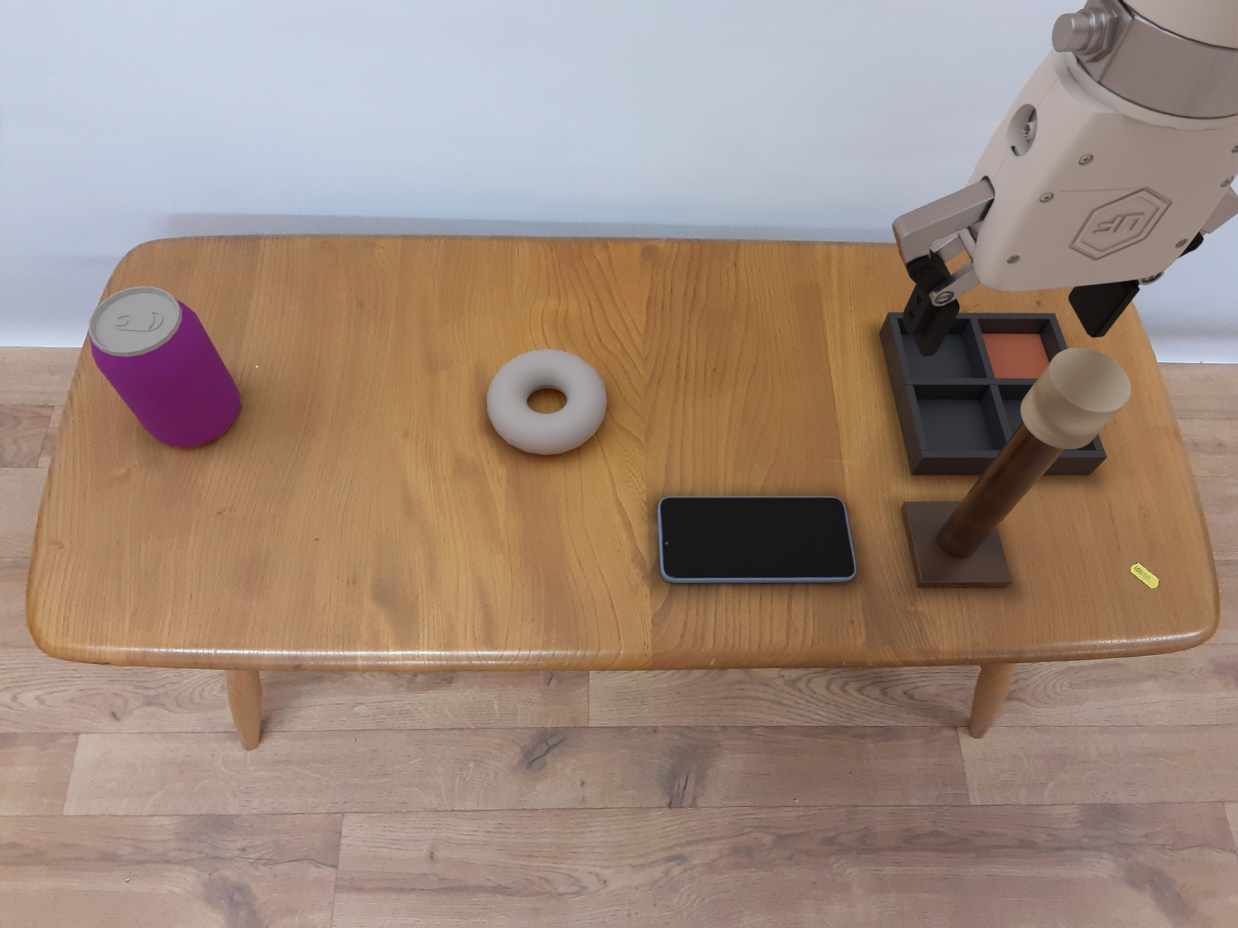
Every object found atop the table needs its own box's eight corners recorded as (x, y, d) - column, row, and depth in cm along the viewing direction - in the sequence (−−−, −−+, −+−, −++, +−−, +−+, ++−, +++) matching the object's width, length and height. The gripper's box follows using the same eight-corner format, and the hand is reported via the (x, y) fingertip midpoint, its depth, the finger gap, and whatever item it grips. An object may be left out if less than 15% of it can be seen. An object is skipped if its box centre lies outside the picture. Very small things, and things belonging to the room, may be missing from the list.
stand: (1007, 587, 68) (1132, 466, 52) (917, 587, 68) (1016, 467, 52) (985, 506, 71) (1096, 372, 56) (900, 507, 71) (988, 371, 56)
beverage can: (139, 456, 71) (65, 364, 61) (156, 378, 75) (89, 280, 65) (238, 450, 72) (181, 358, 61) (249, 374, 76) (197, 276, 65)
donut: (483, 462, 72) (606, 464, 72) (478, 439, 69) (606, 441, 69) (493, 364, 77) (608, 366, 77) (489, 338, 74) (608, 341, 74)
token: (1110, 418, 54) (1146, 379, 51) (1072, 463, 52) (1107, 426, 49) (1044, 375, 56) (1074, 334, 52) (1005, 417, 54) (1034, 377, 51)
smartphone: (859, 578, 67) (661, 580, 66) (856, 583, 67) (660, 585, 67) (844, 493, 70) (657, 493, 70) (841, 498, 71) (656, 498, 70)
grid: (1090, 475, 73) (1107, 457, 71) (911, 475, 73) (922, 457, 70) (1041, 333, 81) (1055, 312, 79) (878, 332, 80) (888, 311, 78)
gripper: (1007, 116, 31) (873, 399, 46) (1439, 82, 33) (1178, 364, 48) (935, -6, 35) (832, 291, 50) (1326, -30, 37) (1116, 263, 52)
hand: (1002, 326), depth 49 cm, fingers open, 9 cm apart
